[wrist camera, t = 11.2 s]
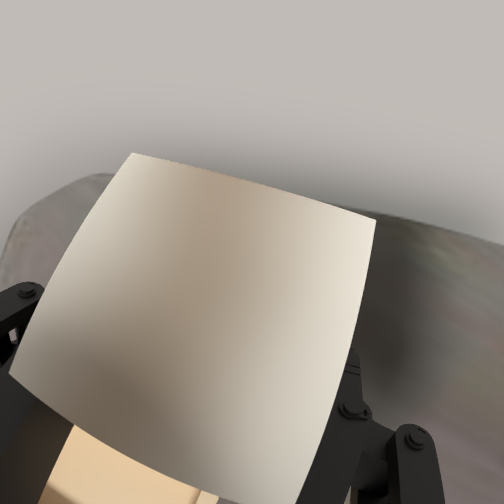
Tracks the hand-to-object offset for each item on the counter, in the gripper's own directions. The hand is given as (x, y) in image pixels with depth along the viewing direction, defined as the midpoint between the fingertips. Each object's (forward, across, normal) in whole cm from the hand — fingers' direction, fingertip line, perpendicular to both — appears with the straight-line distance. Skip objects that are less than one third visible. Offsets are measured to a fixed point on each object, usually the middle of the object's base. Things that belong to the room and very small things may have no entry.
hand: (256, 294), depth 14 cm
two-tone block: (0, 0, -5) cm, 5 cm away
